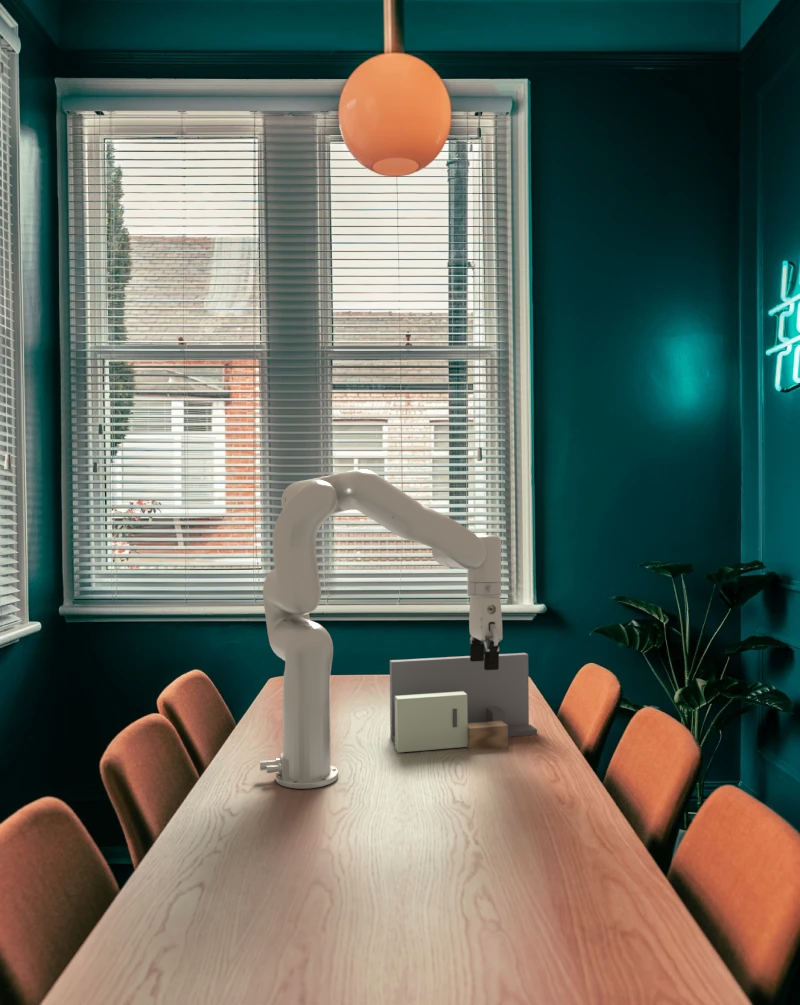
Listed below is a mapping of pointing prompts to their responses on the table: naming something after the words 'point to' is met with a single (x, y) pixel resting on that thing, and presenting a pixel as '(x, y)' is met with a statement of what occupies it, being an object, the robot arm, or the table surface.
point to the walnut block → (487, 735)
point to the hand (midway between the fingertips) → (484, 665)
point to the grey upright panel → (469, 687)
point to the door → (431, 721)
